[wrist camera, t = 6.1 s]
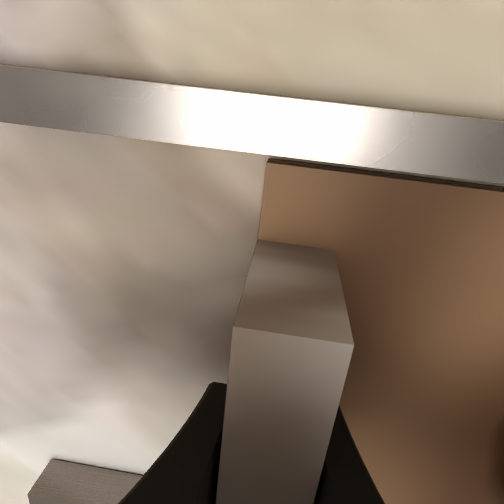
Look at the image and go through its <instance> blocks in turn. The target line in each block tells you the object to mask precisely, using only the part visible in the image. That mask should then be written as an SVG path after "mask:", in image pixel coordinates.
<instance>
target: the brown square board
mask: <svg viewBox="0 0 504 504" xmlns="http://www.w3.org/2000/svg"><path fill="white" fill-rule="evenodd" d="M338 406H340V408H341V411H342V413H343V416H344V419H345V421H346V424H347V426H348V428H349V431H350V433H351V435H352V438H353V440H354V442H355V444H356V447H357V449H358V451H359V453H360V455H361V457H362V460H363V462H364V464H365V466H366V468H367V470H368V472H369V474H370V476H371V478H372V480H373V482H374V484H375V486H376V488H377V490H378V492H379V493H380V495H381V497H382V499H383V501H384V503H385V504H504V188H502V187H494V186H486V185H478V184H470V183H462V182H454V181H446V180H438V179H429V178H421V177H413V176H405V175H397V174H389V173H381V172H373V171H365V170H357V169H349V168H341V167H333V166H324V165H316V164H308V163H300V162H292V161H284V160H276V159H268V161H267V164H266V172H265V181H264V190H263V198H262V207H261V216H260V224H259V233H258V240H257V244H256V247H255V251H254V254H253V258H252V261H251V265H250V268H249V272H248V275H247V279H246V282H245V286H244V289H243V293H242V296H241V300H240V303H239V307H238V310H237V314H236V317H235V321H234V324H233V330H232V341H231V351H230V361H229V372H228V382H227V392H226V403H225V413H224V423H223V434H222V444H221V454H220V464H219V475H218V485H217V495H216V504H313V503H314V499H315V495H316V491H317V487H318V483H319V479H320V476H321V472H322V468H323V464H324V460H325V456H326V452H327V449H328V445H329V441H330V437H331V433H332V429H333V425H334V422H335V418H336V414H337V410H338Z"/></svg>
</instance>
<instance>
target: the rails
mask: <svg viewBox="0 0 504 504" xmlns="http://www.w3.org/2000/svg"><path fill="white" fill-rule="evenodd" d="M0 122H5V123H13V124H21V125H29V126H37V127H45V128H53V129H62V130H70V131H78V132H86V133H94V134H102V135H110V136H118V137H127V138H135V139H143V140H151V141H159V142H167V143H175V144H183V145H192V146H200V147H208V148H216V149H224V150H232V151H240V152H248V153H256V154H265V155H273V156H281V157H289V158H297V159H305V160H313V161H321V162H330V163H338V164H346V165H354V166H362V167H370V168H378V169H386V170H394V171H403V172H411V173H419V174H427V175H435V176H443V177H451V178H459V179H468V180H476V181H484V182H492V183H500V184H504V121H501V120H492V119H483V118H474V117H465V116H457V115H448V114H439V113H430V112H421V111H412V110H403V109H394V108H385V107H376V106H368V105H359V104H350V103H341V102H332V101H323V100H314V99H305V98H296V97H288V96H279V95H270V94H261V93H252V92H243V91H234V90H225V89H216V88H207V87H199V86H190V85H181V84H172V83H163V82H154V81H145V80H136V79H127V78H118V77H110V76H101V75H92V74H83V73H74V72H65V71H56V70H47V69H38V68H29V67H21V66H12V65H3V64H0ZM142 477H143V476H142V475H136V474H131V473H125V472H120V471H115V470H109V469H104V468H98V467H93V466H88V465H82V464H77V463H71V462H66V461H60V460H55V459H51V460H50V462H49V463H48V465H47V466H46V468H45V469H44V471H43V472H42V474H41V475H40V476H39V478H38V479H37V481H36V482H35V484H34V485H33V487H32V488H31V490H30V491H29V493H28V498H29V503H30V504H118V503H119V502H120V501H121V500H122V499H123V498H124V497H125V496H126V494H127V493H128V492H129V491H130V490H131V489H132V488H133V487H134V486H135V485H136V483H137V482H138V481H139V480H140V479H141V478H142Z"/></svg>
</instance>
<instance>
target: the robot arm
mask: <svg viewBox="0 0 504 504" xmlns="http://www.w3.org/2000/svg"><path fill="white" fill-rule="evenodd" d="M226 392H227V384H223V383H217V382H212V383H211V384H209V385H208V387H207V389H206V391H205V393H204V395H203V396H202V398H201V400H200V401H199V403H198V405H197V406H196V408H195V409H194V411H193V412H192V414H191V415H190V417H189V418H188V420H187V421H186V422H185V424H184V425H183V426H182V428H181V429H180V431H179V432H178V433H177V435H176V436H175V437H174V439H173V440H172V441H171V443H170V444H169V445H168V447H167V448H166V449H165V450H164V452H163V453H162V454H161V455H160V456H159V458H158V459H157V460H156V461H155V462H154V464H153V465H152V466H151V467H150V468H149V470H148V471H147V472H146V473H145V474H144V476H143V477H142V478H141V479H140V480H139V481H138V482H137V483H136V485H135V486H134V487H133V488H132V489H131V490H130V491H129V492H128V493H127V494H126V496H125V497H124V498H123V499H122V500H121V501H120V502H119V503H118V504H216V495H217V485H218V475H219V464H220V454H221V444H222V434H223V423H224V413H225V403H226ZM313 504H385V503H384V501H383V499H382V497H381V495H380V493H379V492H378V490H377V488H376V486H375V484H374V482H373V480H372V478H371V476H370V474H369V472H368V470H367V468H366V466H365V464H364V462H363V460H362V457H361V455H360V453H359V451H358V449H357V447H356V444H355V442H354V440H353V438H352V435H351V433H350V431H349V428H348V426H347V424H346V421H345V419H344V416H343V413H342V411H341V408H340V406H338V410H337V414H336V418H335V422H334V425H333V429H332V433H331V437H330V441H329V445H328V449H327V452H326V456H325V460H324V464H323V468H322V472H321V476H320V479H319V483H318V487H317V491H316V495H315V499H314V503H313Z"/></svg>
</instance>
